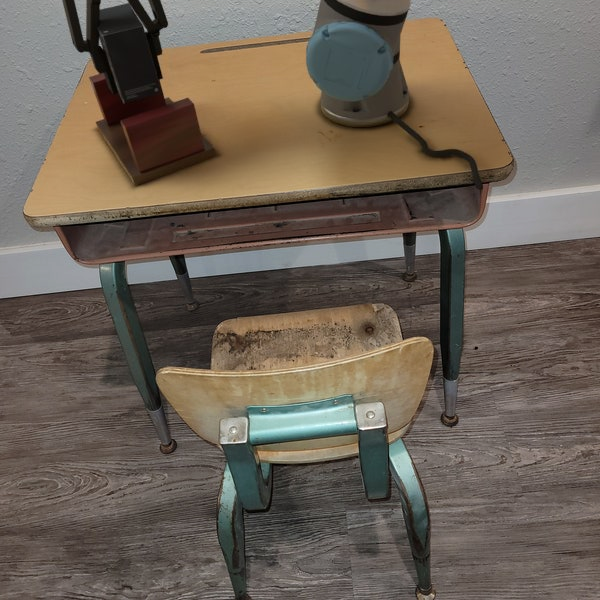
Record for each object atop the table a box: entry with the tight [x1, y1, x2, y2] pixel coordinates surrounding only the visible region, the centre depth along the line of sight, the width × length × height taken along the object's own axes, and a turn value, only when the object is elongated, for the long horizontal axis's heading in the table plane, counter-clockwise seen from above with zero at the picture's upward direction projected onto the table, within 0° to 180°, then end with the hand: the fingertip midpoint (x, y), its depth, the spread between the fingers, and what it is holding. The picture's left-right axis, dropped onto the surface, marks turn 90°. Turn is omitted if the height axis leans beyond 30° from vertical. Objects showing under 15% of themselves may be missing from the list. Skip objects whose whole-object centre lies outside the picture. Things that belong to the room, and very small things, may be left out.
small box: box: [97, 2, 161, 103], centre depth 91 cm, size 11×6×10 cm, turn 23°
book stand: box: [88, 73, 217, 187], centre depth 98 cm, size 21×14×10 cm, turn 29°
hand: (135, 82), depth 94 cm, fingers closed on small box, 7 cm apart
